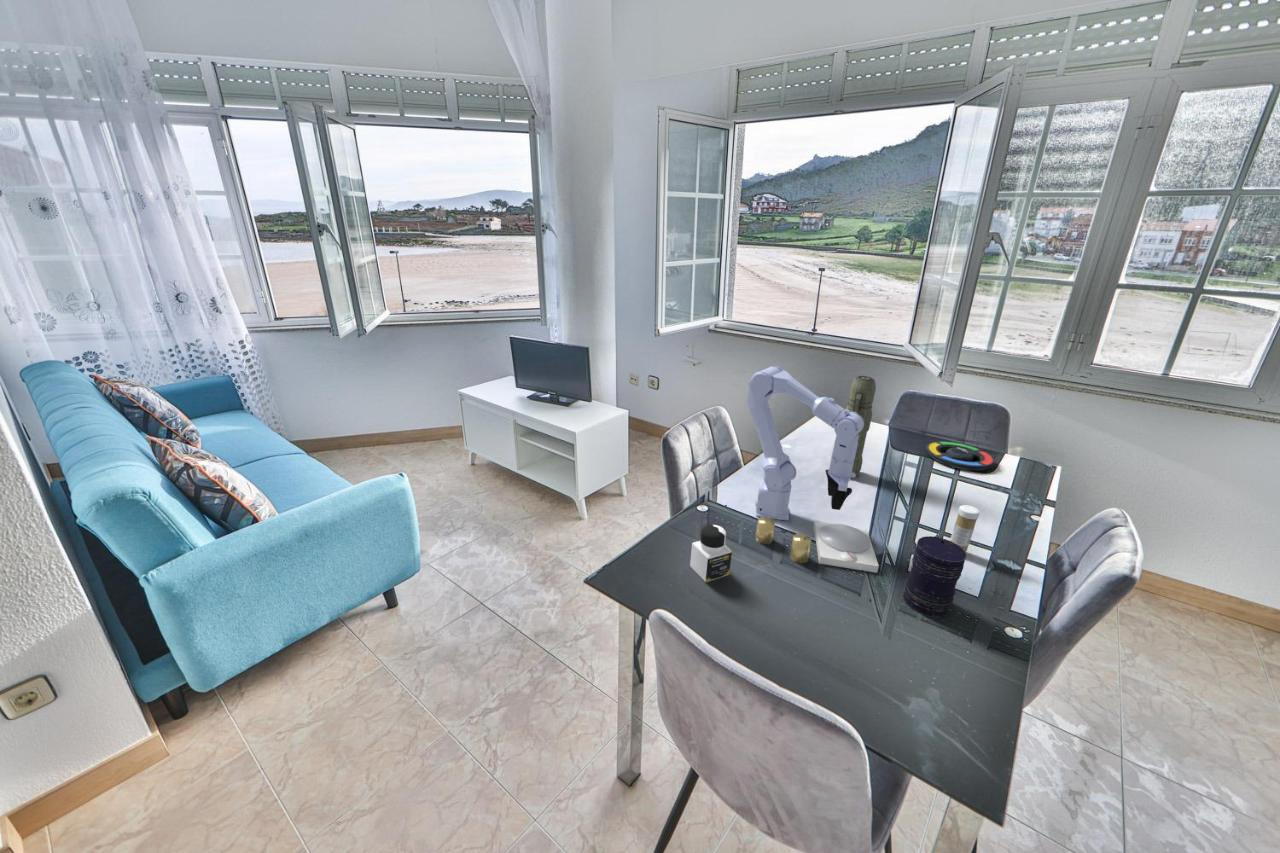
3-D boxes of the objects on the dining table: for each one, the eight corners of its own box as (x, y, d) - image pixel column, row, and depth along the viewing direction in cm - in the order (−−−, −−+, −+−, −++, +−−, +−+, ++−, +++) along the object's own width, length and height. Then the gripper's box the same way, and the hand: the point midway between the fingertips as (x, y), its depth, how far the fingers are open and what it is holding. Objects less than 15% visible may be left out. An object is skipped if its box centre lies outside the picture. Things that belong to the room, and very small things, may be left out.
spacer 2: (790, 561, 134) (793, 541, 132) (789, 551, 138) (792, 532, 136) (808, 564, 133) (812, 544, 131) (807, 554, 138) (810, 535, 135)
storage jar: (948, 624, 115) (966, 567, 109) (899, 606, 120) (914, 551, 114) (950, 599, 123) (967, 545, 117) (905, 583, 128) (919, 531, 122)
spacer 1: (755, 543, 142) (757, 524, 139) (755, 534, 146) (758, 515, 143) (772, 545, 141) (775, 526, 138) (772, 536, 145) (775, 518, 143)
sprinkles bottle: (954, 545, 144) (967, 503, 139) (970, 554, 140) (983, 511, 135) (943, 549, 142) (955, 506, 137) (959, 558, 138) (972, 514, 133)
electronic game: (911, 451, 207) (913, 440, 205) (955, 446, 213) (958, 435, 212) (959, 476, 187) (963, 464, 185) (1007, 470, 193) (1011, 458, 191)
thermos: (861, 469, 188) (881, 375, 175) (857, 482, 178) (878, 384, 166) (835, 464, 192) (853, 371, 179) (830, 476, 182) (848, 379, 169)
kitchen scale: (819, 563, 134) (820, 554, 133) (813, 527, 150) (815, 518, 149) (877, 572, 131) (879, 563, 130) (865, 534, 148) (867, 526, 147)
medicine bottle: (705, 583, 125) (709, 540, 120) (689, 566, 131) (693, 525, 126) (729, 575, 128) (734, 533, 124) (713, 559, 134) (717, 518, 130)
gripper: (863, 471, 132) (853, 517, 137) (854, 448, 146) (845, 492, 150) (834, 467, 134) (825, 513, 139) (827, 445, 147) (819, 488, 152)
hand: (833, 502), depth 145 cm, fingers open, 7 cm apart
